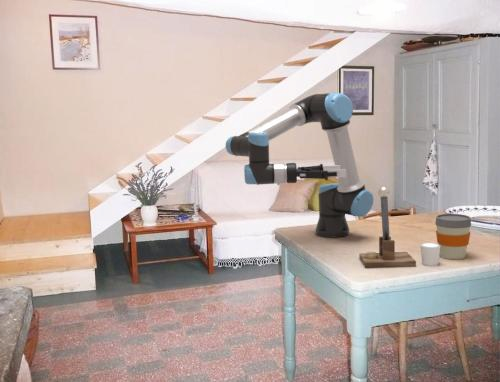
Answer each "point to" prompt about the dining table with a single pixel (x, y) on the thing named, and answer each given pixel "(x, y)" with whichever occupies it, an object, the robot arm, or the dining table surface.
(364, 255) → the lever stand
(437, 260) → the white cylinder
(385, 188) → the lever
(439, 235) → the reusable coffee cup
